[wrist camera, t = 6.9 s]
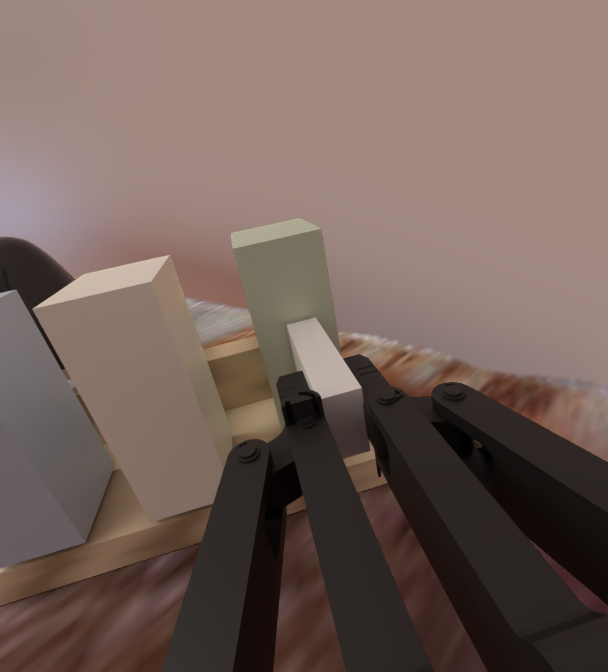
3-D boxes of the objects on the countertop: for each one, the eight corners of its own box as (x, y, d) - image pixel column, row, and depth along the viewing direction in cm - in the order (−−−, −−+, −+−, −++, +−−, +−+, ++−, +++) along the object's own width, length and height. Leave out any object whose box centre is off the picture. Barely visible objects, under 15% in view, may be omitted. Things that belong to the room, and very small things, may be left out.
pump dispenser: (51, 369, 42) (-24, 240, 35) (138, 350, 42) (80, 218, 36) (-7, 424, 33) (-123, 263, 26) (105, 399, 33) (18, 234, 26)
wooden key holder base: (-1, 606, 17) (-90, 516, 14) (75, 460, 26) (30, 387, 23) (391, 481, 19) (381, 383, 16) (338, 386, 28) (325, 312, 25)
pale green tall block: (284, 441, 20) (232, 248, 15) (273, 393, 25) (230, 233, 20) (351, 421, 21) (321, 228, 16) (328, 378, 25) (299, 217, 20)
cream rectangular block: (150, 522, 17) (32, 308, 12) (165, 450, 21) (83, 274, 17) (234, 496, 17) (151, 281, 12) (231, 431, 22) (170, 254, 17)
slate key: (-6, 570, 16) (-198, 362, 11) (44, 485, 20) (-79, 310, 16) (85, 542, 16) (-63, 331, 12) (114, 465, 21) (16, 289, 16)
